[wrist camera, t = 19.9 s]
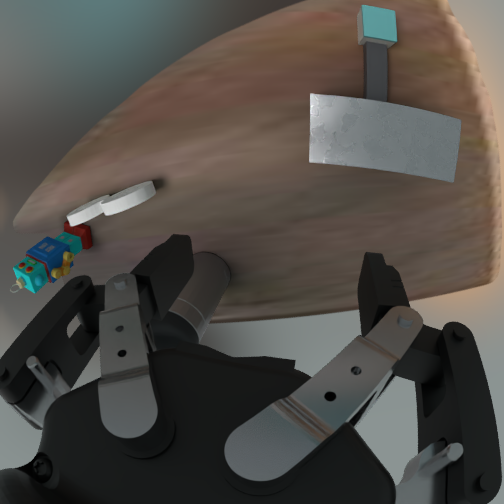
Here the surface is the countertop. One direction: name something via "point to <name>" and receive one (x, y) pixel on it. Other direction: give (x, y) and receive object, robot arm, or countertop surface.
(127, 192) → the letter
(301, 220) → the countertop surface
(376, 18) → the plug
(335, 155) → the housing
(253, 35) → the countertop surface
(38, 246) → the toy robot
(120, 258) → the countertop surface
